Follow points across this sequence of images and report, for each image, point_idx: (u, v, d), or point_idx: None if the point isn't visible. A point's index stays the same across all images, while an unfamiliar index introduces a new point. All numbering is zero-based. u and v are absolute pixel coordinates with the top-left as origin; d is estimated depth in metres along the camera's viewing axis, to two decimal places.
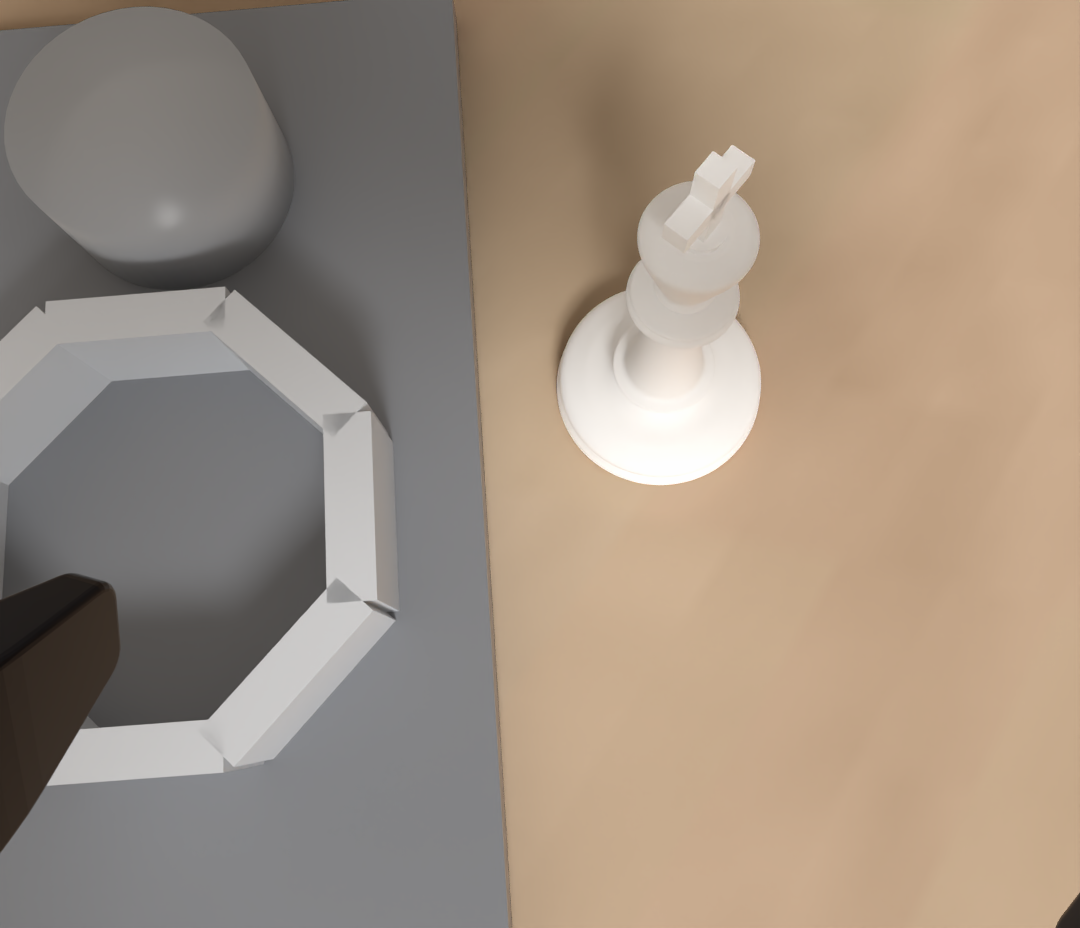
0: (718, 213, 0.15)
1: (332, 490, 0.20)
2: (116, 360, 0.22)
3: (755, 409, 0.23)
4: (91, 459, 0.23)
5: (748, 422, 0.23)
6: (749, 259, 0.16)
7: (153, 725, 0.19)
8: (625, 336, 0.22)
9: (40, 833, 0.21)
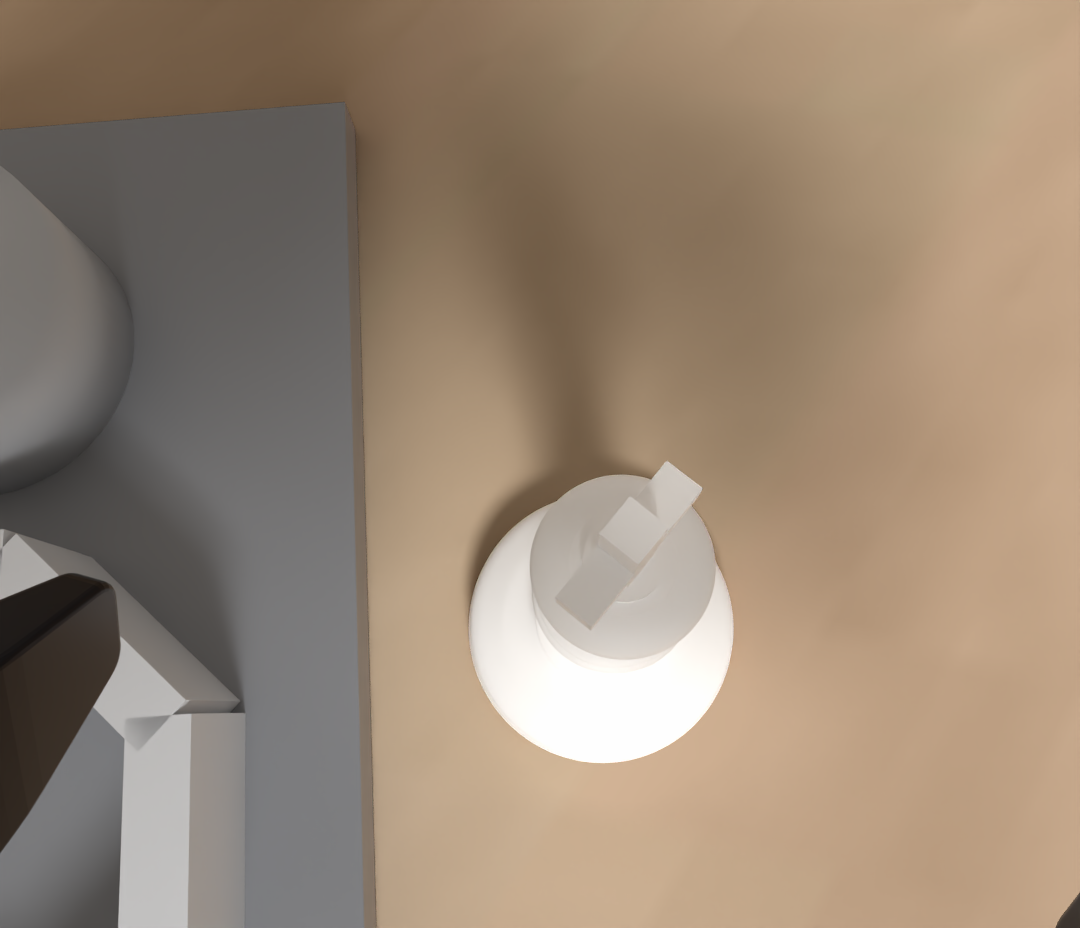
0: (646, 560, 0.10)
1: (132, 831, 0.14)
2: None
3: (725, 668, 0.17)
4: None
5: (716, 686, 0.17)
6: (698, 607, 0.10)
7: None
8: None
9: None
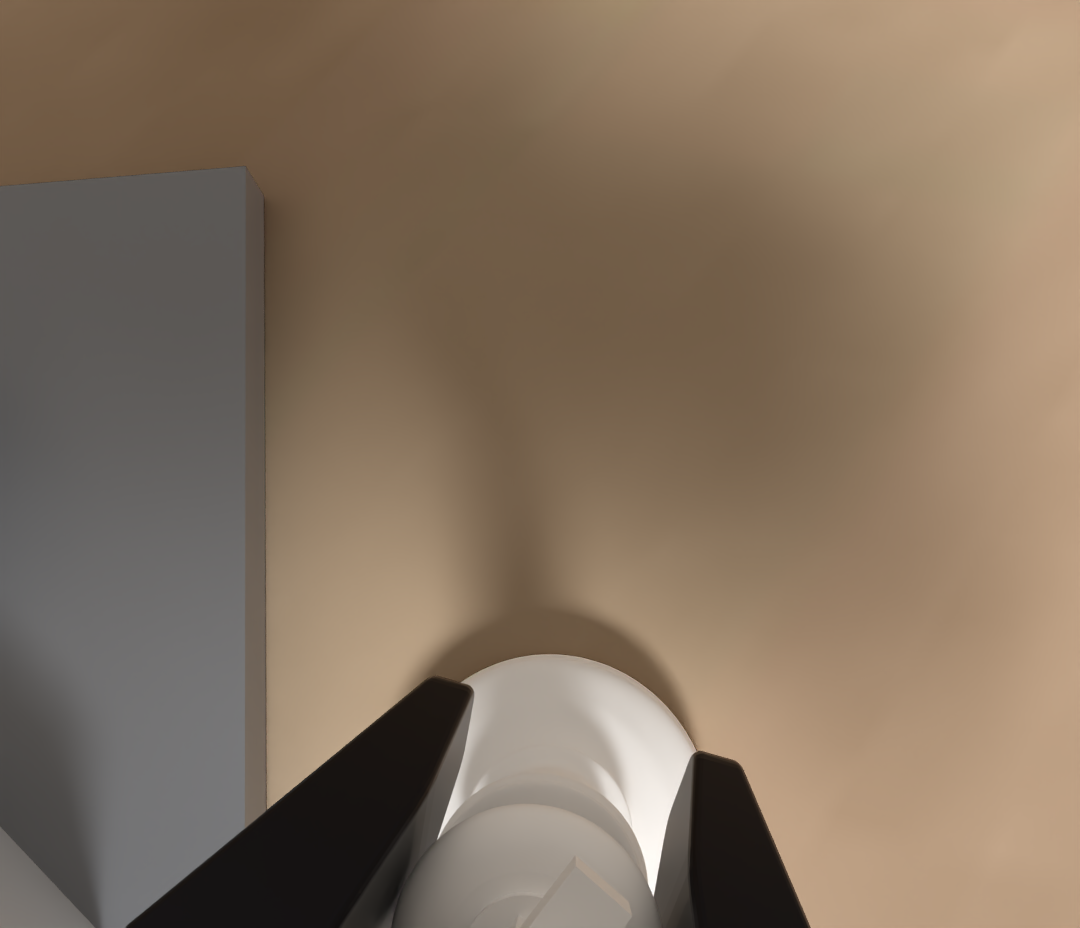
0: None
1: None
2: None
3: None
4: None
5: None
6: None
7: None
8: (483, 780, 0.13)
9: None
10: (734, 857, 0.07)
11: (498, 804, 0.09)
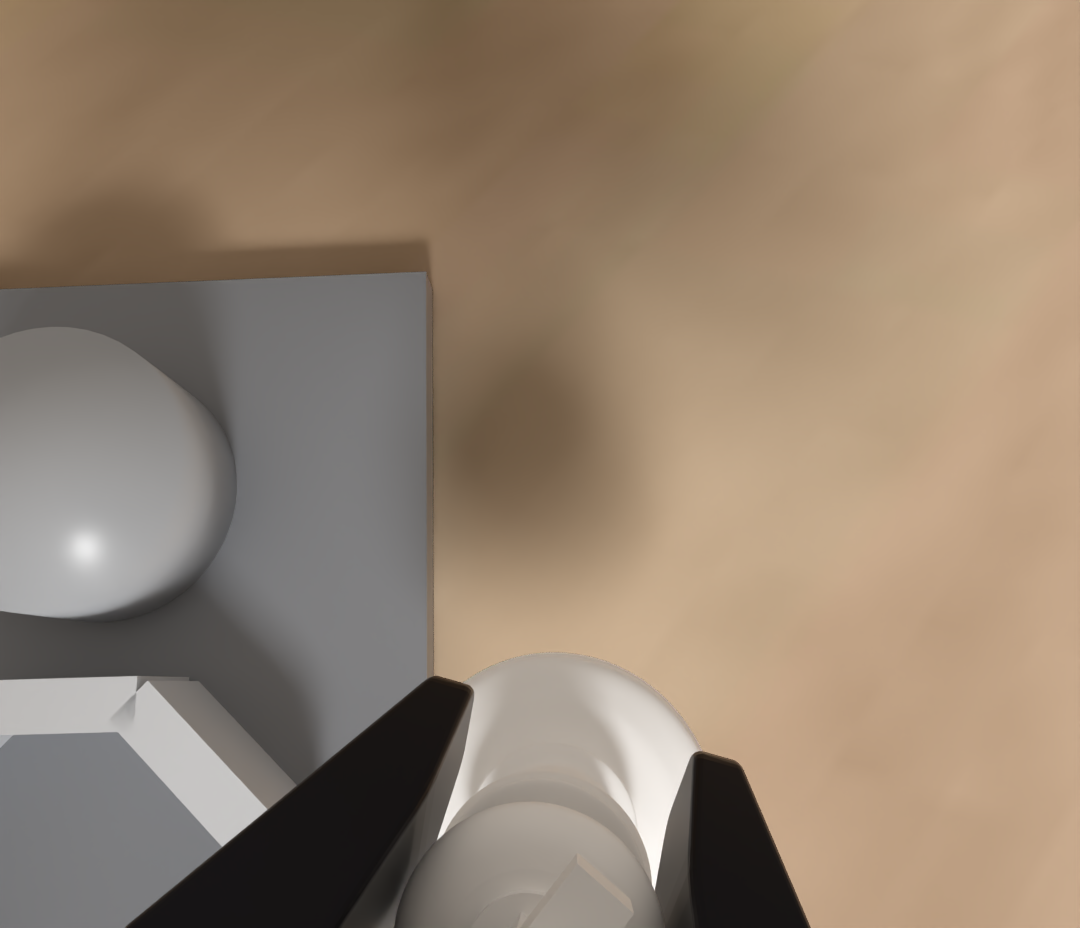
0: None
1: None
2: None
3: None
4: None
5: None
6: None
7: None
8: (489, 779, 0.13)
9: None
10: (734, 857, 0.07)
11: (502, 802, 0.09)
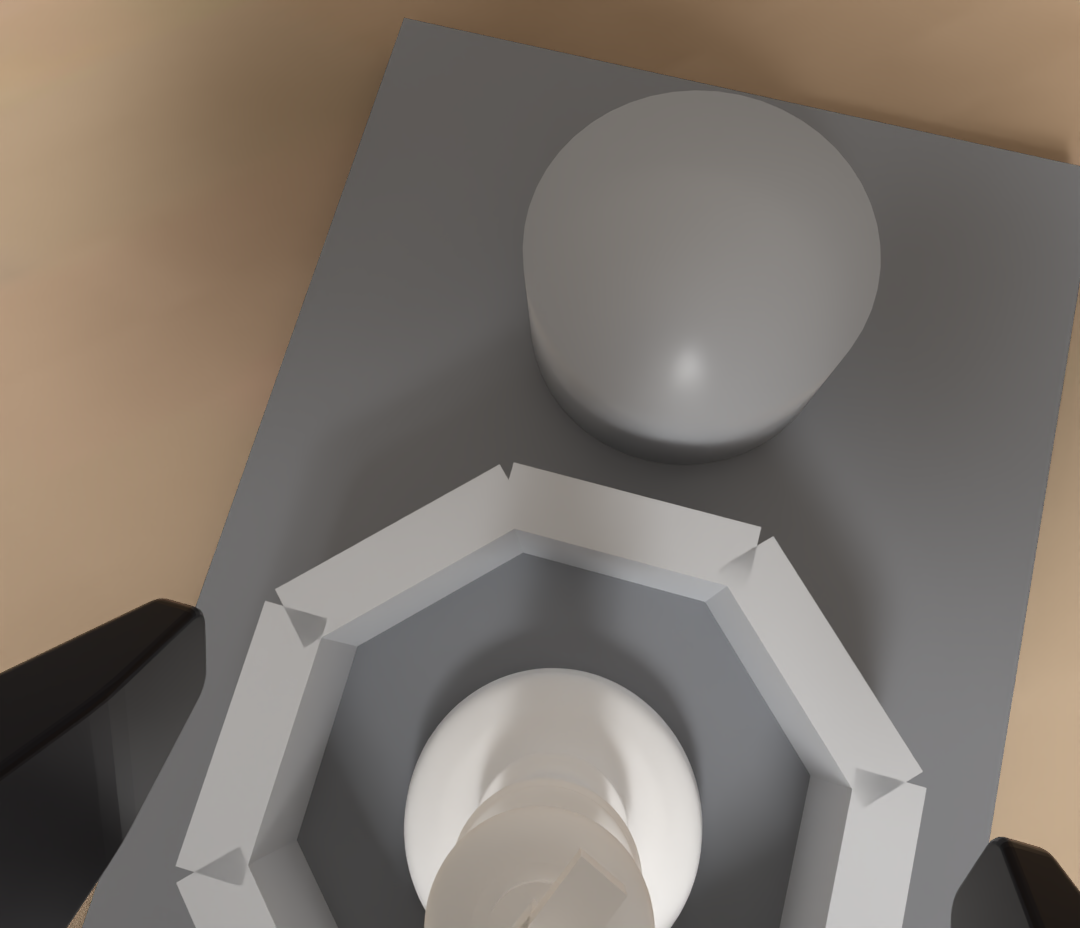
0: None
1: (844, 888, 0.13)
2: (560, 552, 0.16)
3: (693, 878, 0.15)
4: (470, 650, 0.17)
5: (682, 901, 0.15)
6: None
7: None
8: (493, 785, 0.15)
9: None
10: None
11: (511, 806, 0.11)
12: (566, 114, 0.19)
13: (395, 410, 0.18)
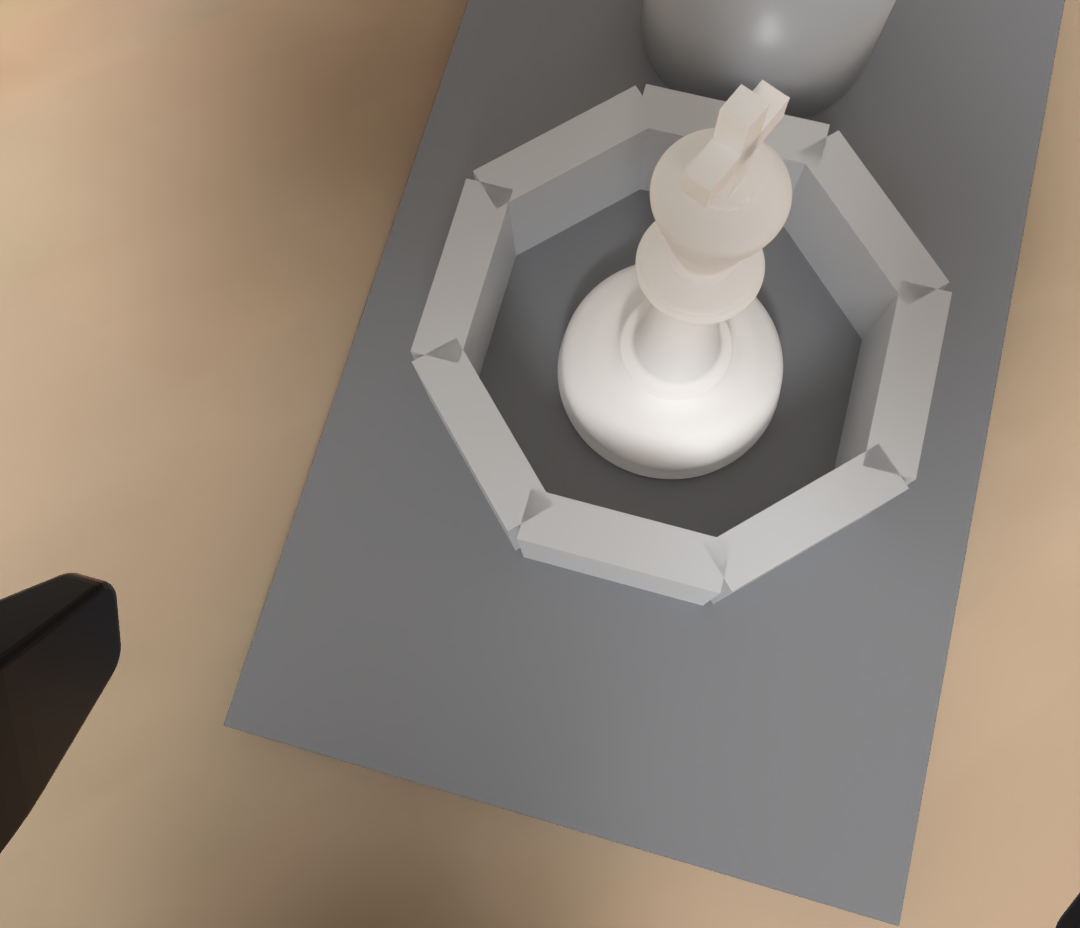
0: (745, 161, 0.13)
1: (893, 357, 0.19)
2: None
3: (777, 395, 0.21)
4: (602, 257, 0.22)
5: (769, 410, 0.20)
6: (780, 217, 0.14)
7: (660, 524, 0.18)
8: (632, 314, 0.20)
9: (467, 594, 0.21)
10: None
11: None
12: None
13: (537, 90, 0.23)
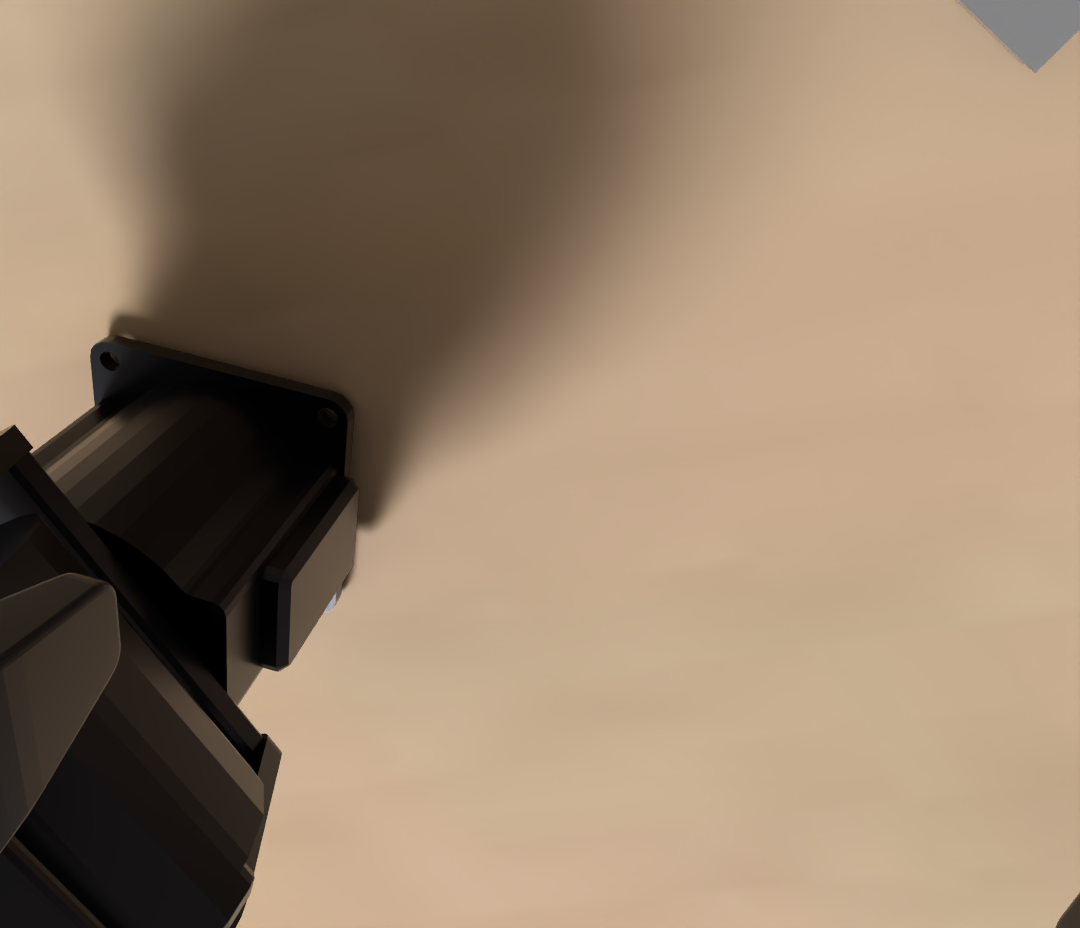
0: None
1: None
2: None
3: None
4: None
5: None
6: None
7: None
8: None
9: None
10: None
11: None
12: None
13: None
